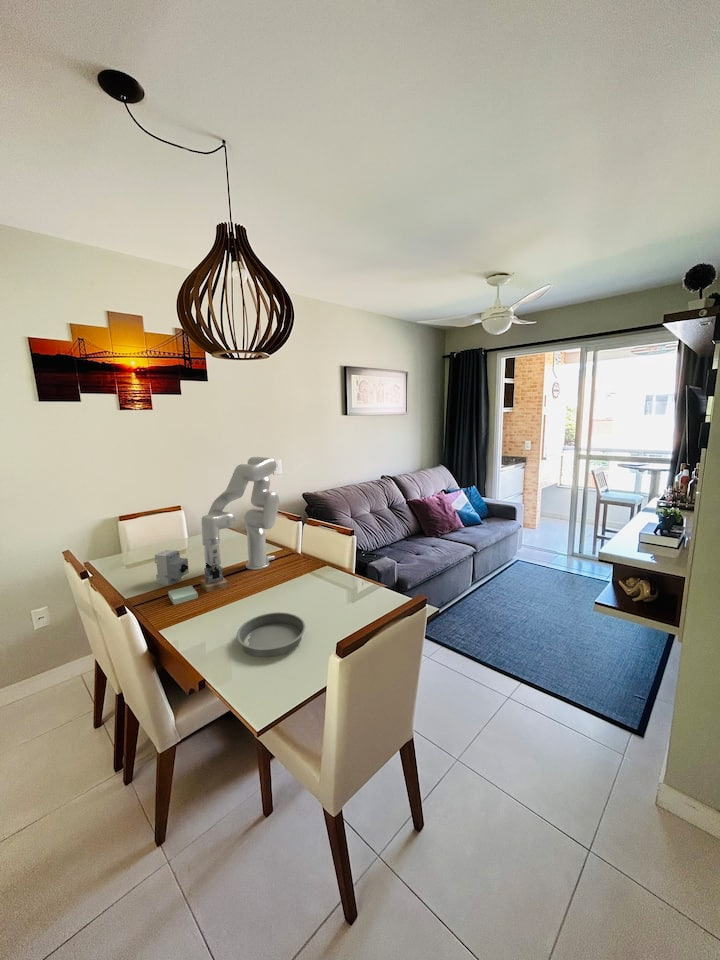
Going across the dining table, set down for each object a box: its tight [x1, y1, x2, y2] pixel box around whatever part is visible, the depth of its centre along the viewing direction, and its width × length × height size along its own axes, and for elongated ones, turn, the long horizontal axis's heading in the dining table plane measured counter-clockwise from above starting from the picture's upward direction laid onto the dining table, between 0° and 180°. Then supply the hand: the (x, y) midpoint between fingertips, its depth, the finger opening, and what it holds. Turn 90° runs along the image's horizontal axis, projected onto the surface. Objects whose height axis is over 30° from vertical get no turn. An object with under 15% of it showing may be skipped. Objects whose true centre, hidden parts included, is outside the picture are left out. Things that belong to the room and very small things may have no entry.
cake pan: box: [236, 612, 307, 659], centre depth 140 cm, size 25×25×4 cm
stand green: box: [168, 585, 199, 605], centre depth 172 cm, size 10×10×2 cm
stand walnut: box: [200, 576, 229, 593], centre depth 184 cm, size 10×10×2 cm
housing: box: [203, 564, 224, 585], centre depth 183 cm, size 7×5×7 cm
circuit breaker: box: [154, 549, 190, 586], centre depth 187 cm, size 8×14×15 cm, turn 78°
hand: (212, 575), depth 183 cm, fingers open, 9 cm apart
